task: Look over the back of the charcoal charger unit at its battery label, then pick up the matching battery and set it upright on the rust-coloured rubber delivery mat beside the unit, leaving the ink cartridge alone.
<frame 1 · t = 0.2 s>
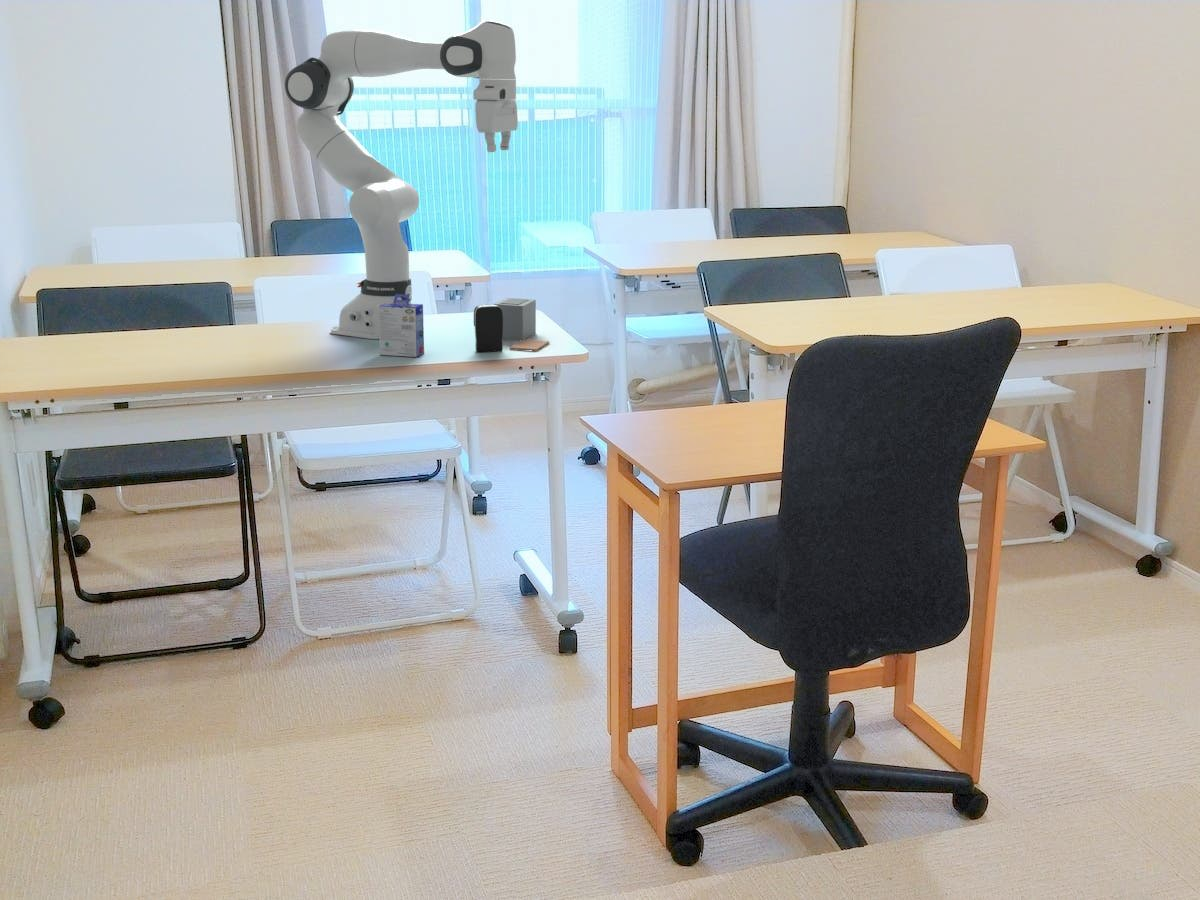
hand: (498, 151, 289), 47 cm above the table, tool pointing down, fingers open, 8 cm apart
delivery mat: (529, 346, 297), on the table
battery: (488, 351, 292), on the table
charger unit: (514, 335, 309), on the table
ink cartridge box: (402, 355, 287), on the table
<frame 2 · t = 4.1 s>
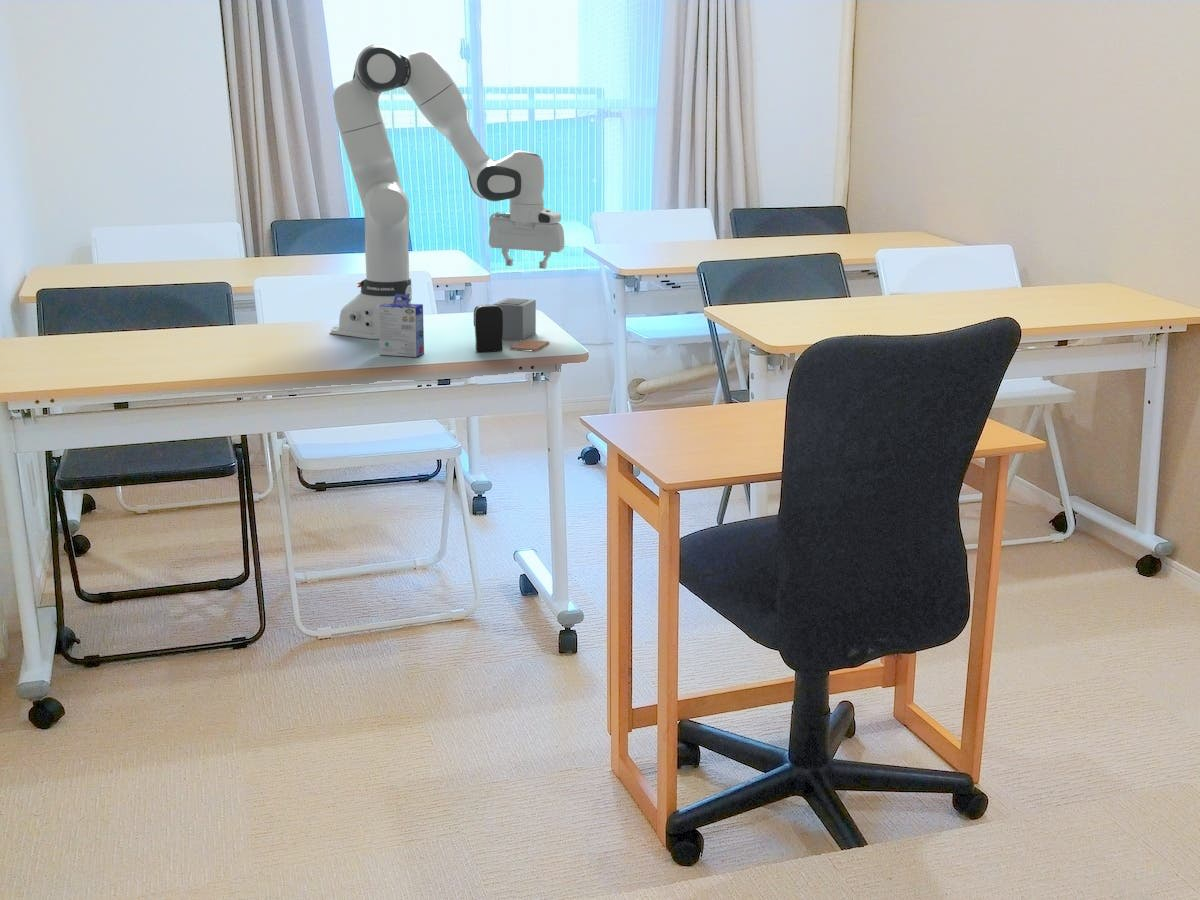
hand: (525, 267, 314), 17 cm above the table, tool pointing down, fingers open, 8 cm apart
nothing on the table moved.
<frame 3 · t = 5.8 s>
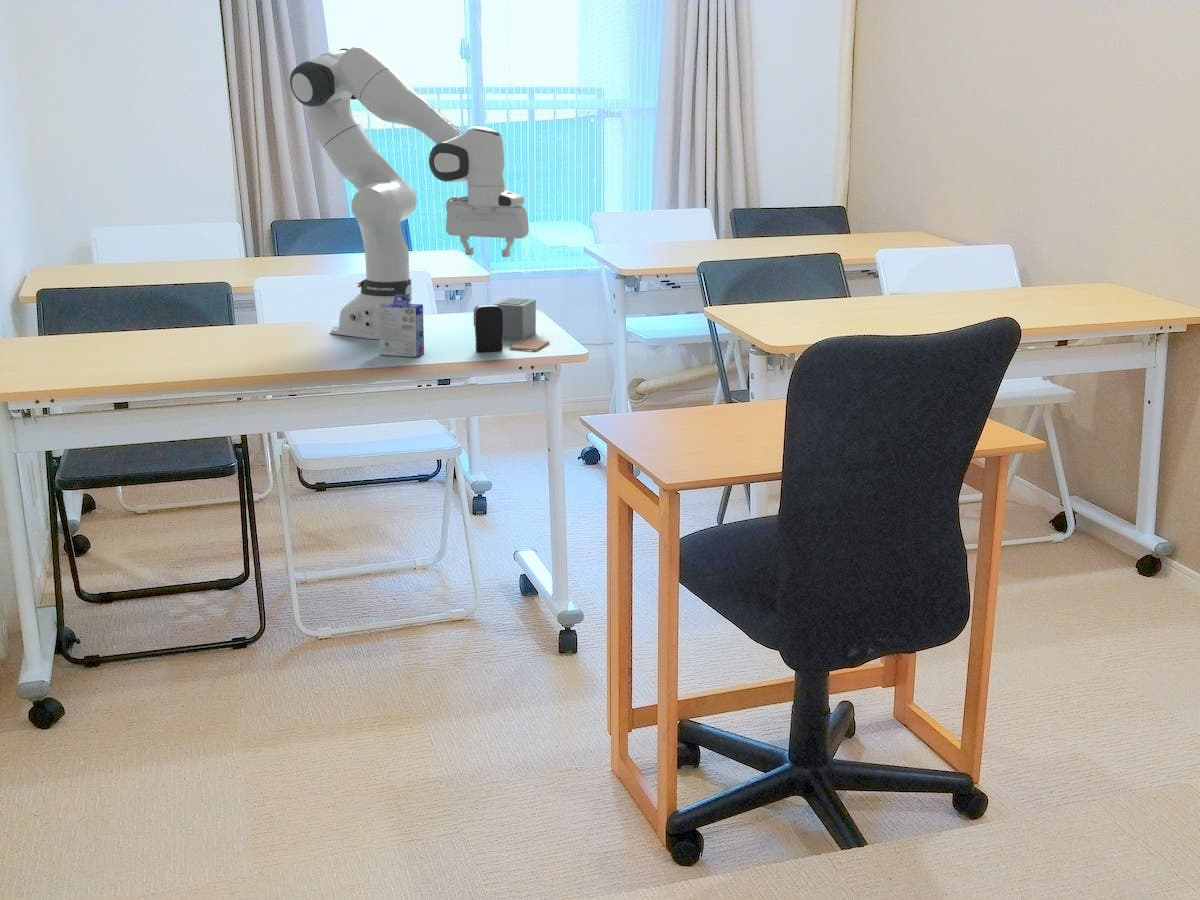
hand: (487, 255, 285), 23 cm above the table, tool pointing down, fingers open, 8 cm apart
nothing on the table moved.
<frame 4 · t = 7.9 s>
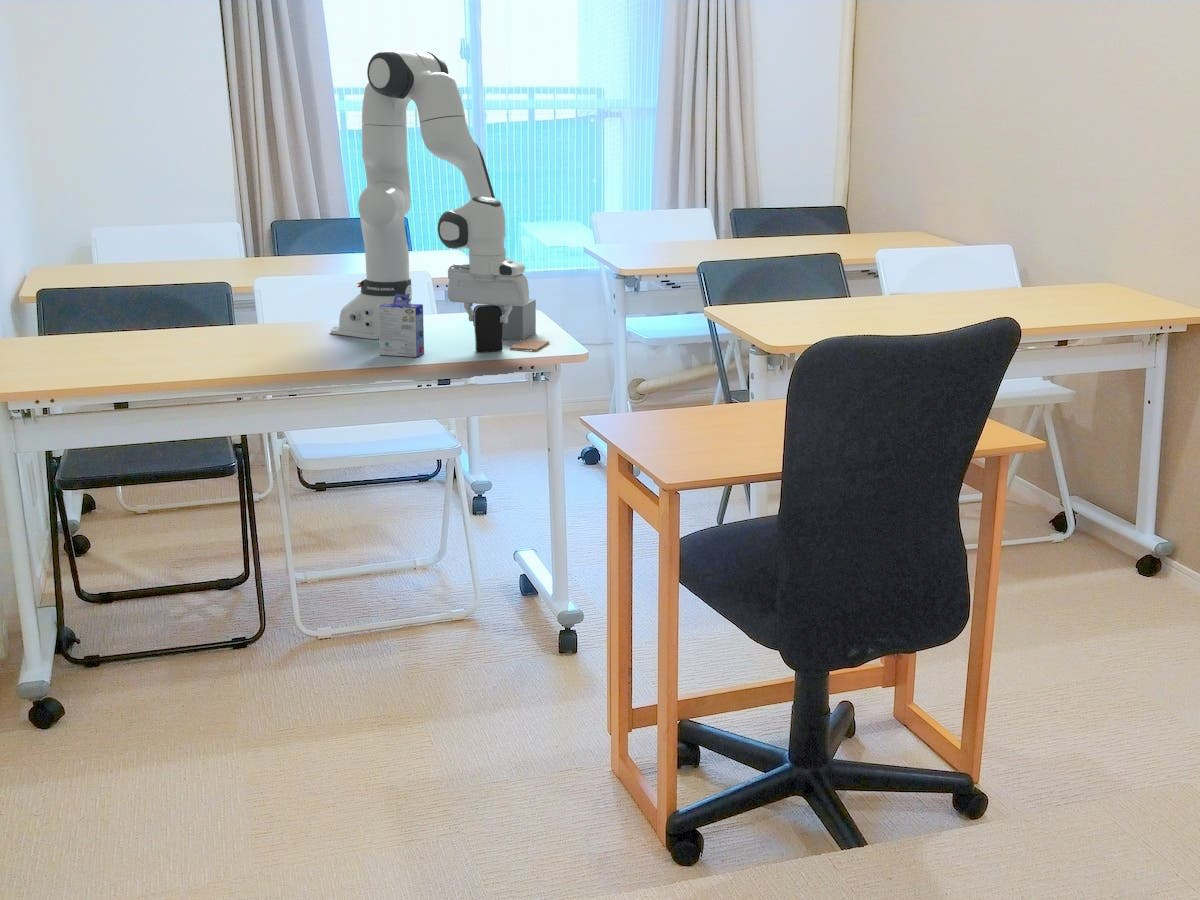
hand: (488, 322, 290), 7 cm above the table, tool pointing down, fingers closed on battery, 7 cm apart
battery: (488, 351, 292), on the table, touching gripper
everything else where it was.
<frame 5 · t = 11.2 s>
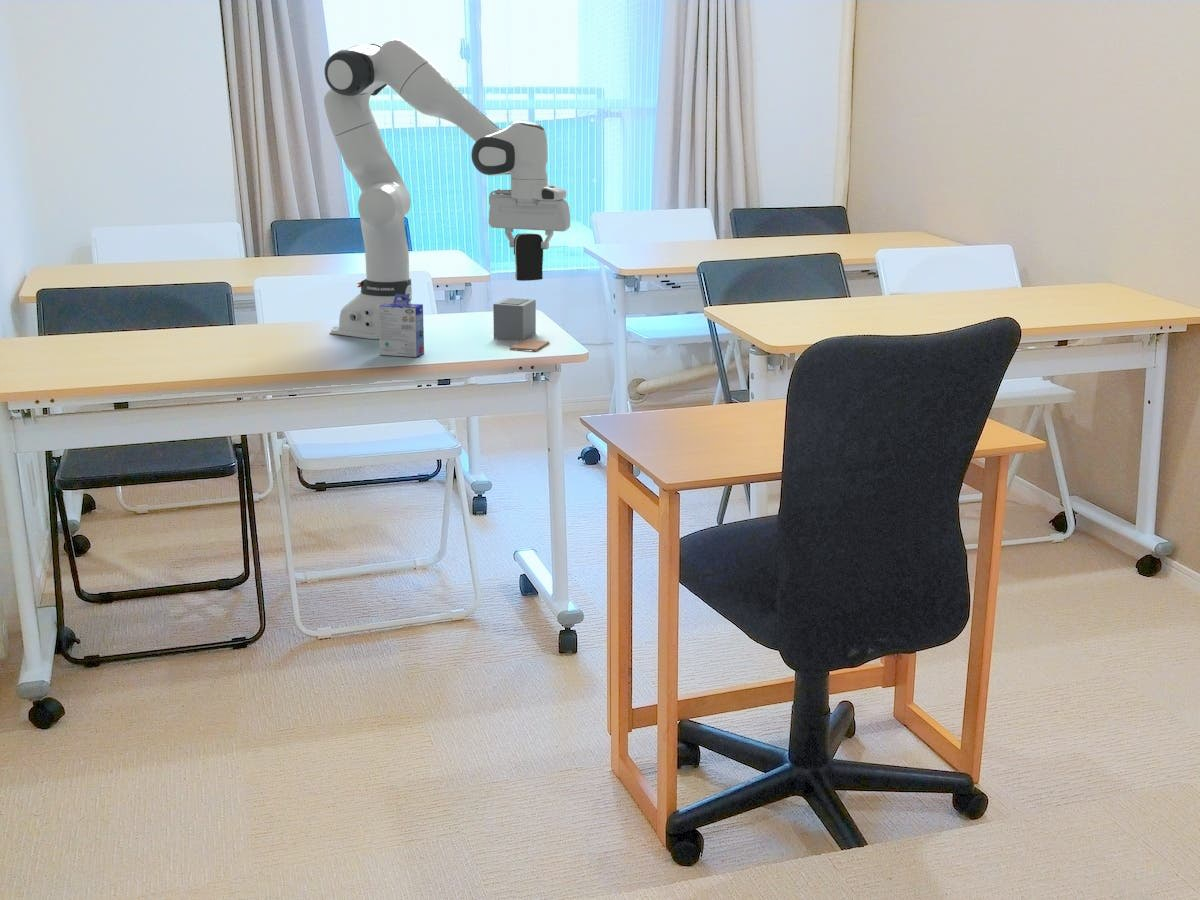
hand: (529, 248, 290), 25 cm above the table, tool pointing down, fingers closed on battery, 7 cm apart
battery: (528, 280, 292), point 17 cm above the table, touching gripper
everything else where it was.
when the fingers open (10 cm above the table, at t = 14.5 s): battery stays where it is, resting on delivery mat.
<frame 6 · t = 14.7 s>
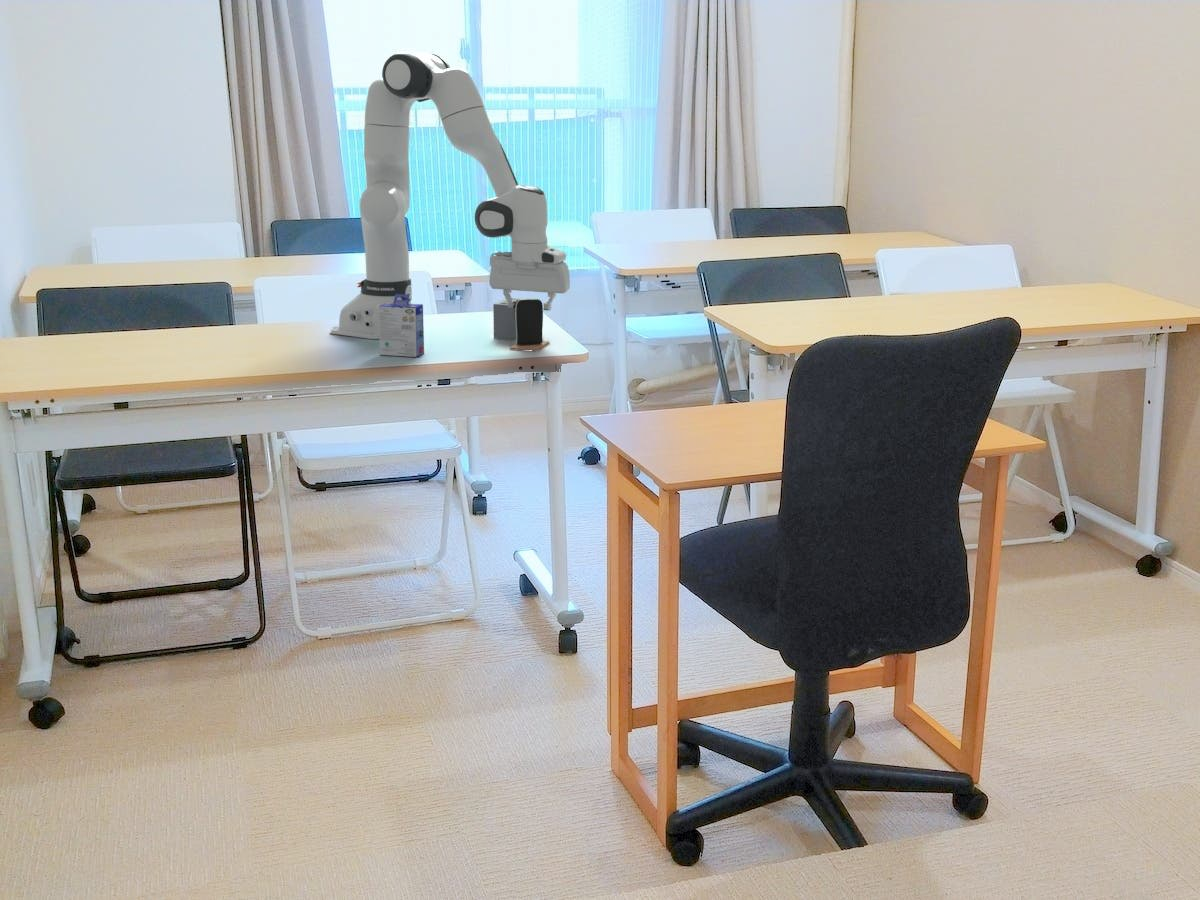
hand: (529, 308, 294), 10 cm above the table, tool pointing down, fingers open, 8 cm apart
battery: (528, 344, 297), resting on delivery mat
everything else where it was.
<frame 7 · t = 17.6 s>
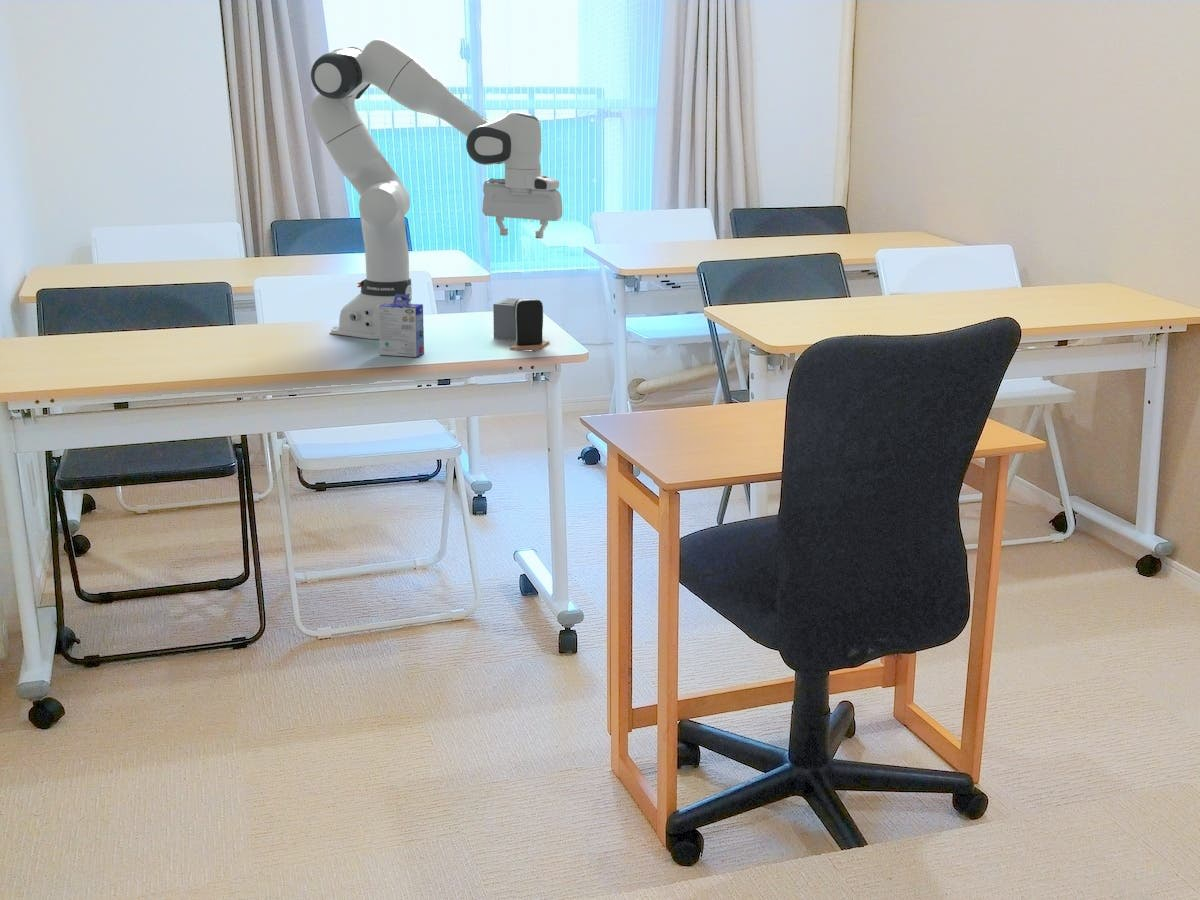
hand: (521, 236, 295), 27 cm above the table, tool pointing down, fingers open, 8 cm apart
nothing on the table moved.
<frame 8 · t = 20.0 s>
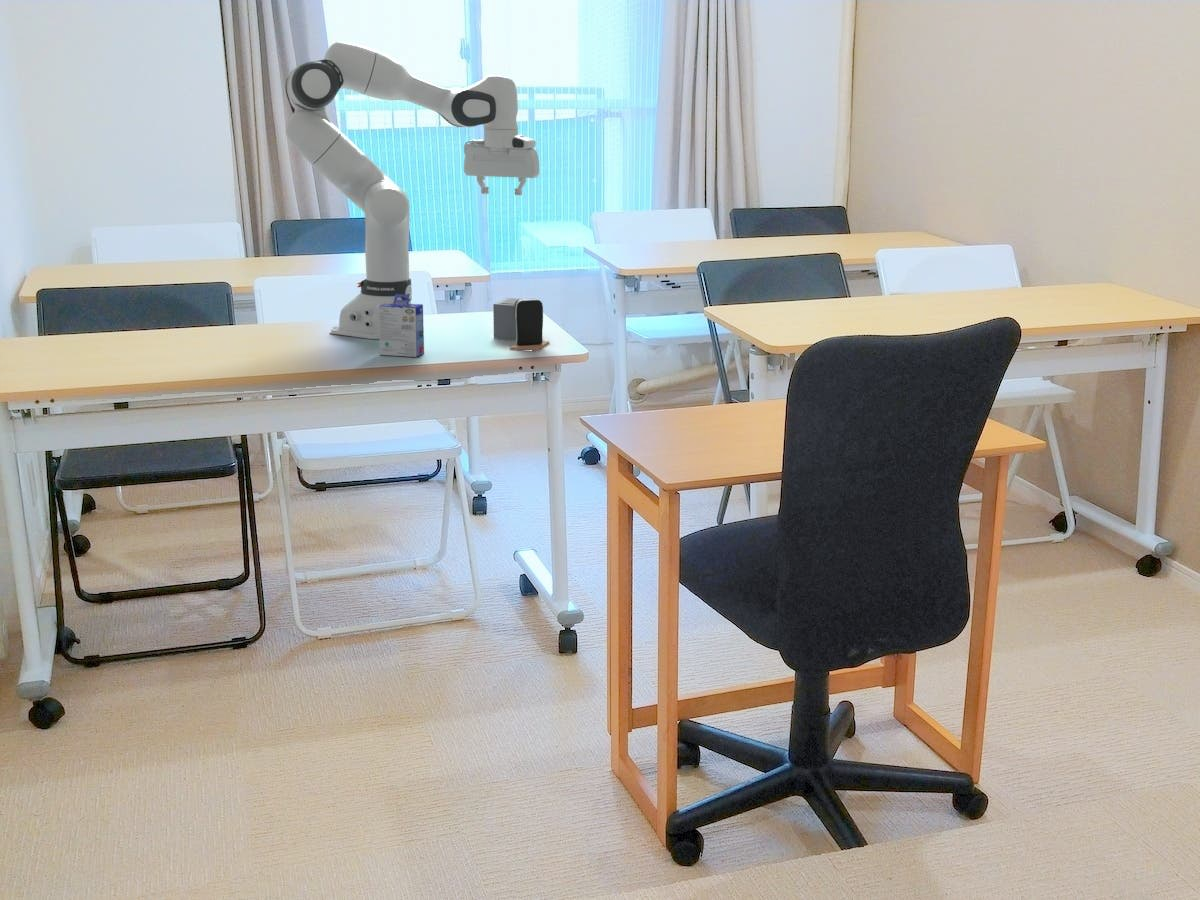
hand: (501, 194, 312), 35 cm above the table, tool pointing down, fingers open, 8 cm apart
nothing on the table moved.
at the end: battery 0.6 cm off-centre on the delivery mat, point 0.4 cm above the delivery mat's base; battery tilted 0°; ink cartridge box moved 0.3 cm from its start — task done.
